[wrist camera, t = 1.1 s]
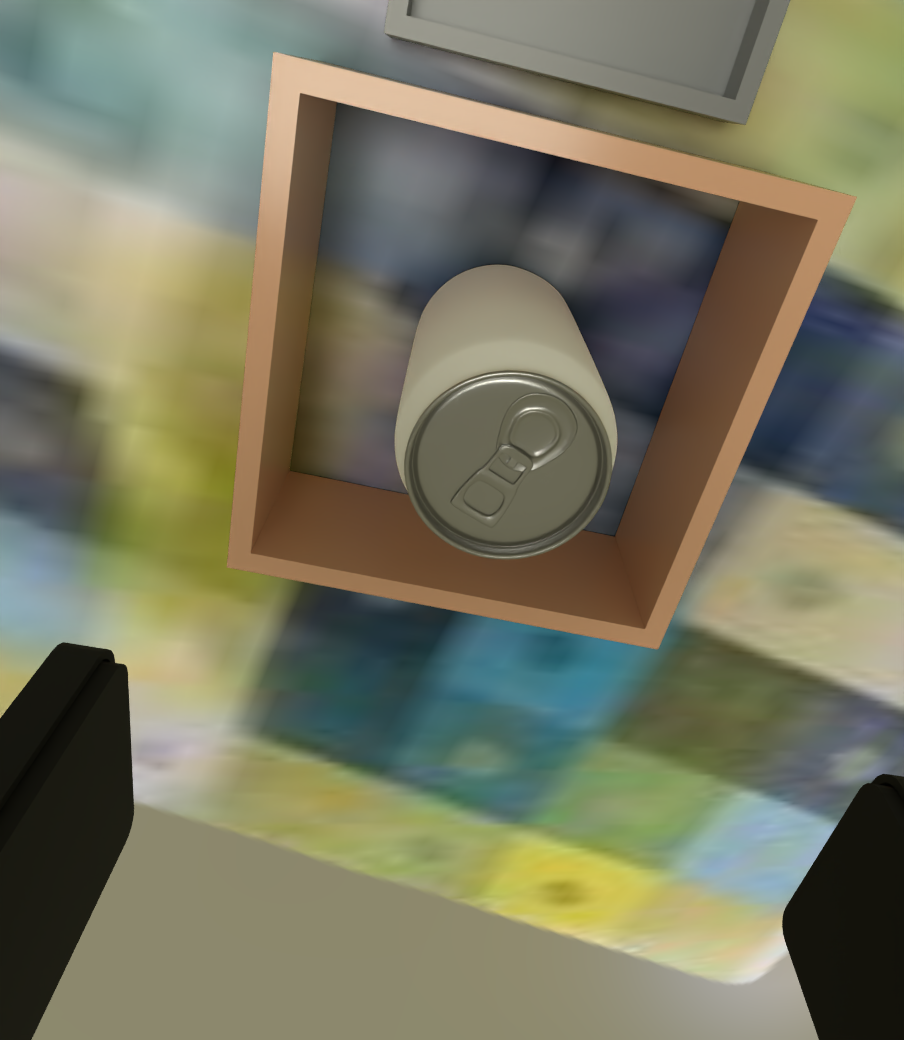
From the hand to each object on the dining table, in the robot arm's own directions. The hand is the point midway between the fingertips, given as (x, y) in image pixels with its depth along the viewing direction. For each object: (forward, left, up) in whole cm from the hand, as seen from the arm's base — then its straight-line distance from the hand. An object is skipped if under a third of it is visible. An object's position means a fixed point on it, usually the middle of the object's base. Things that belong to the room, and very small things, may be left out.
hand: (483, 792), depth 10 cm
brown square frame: (-1, -1, -24) cm, 24 cm away
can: (-1, -1, -24) cm, 24 cm away
